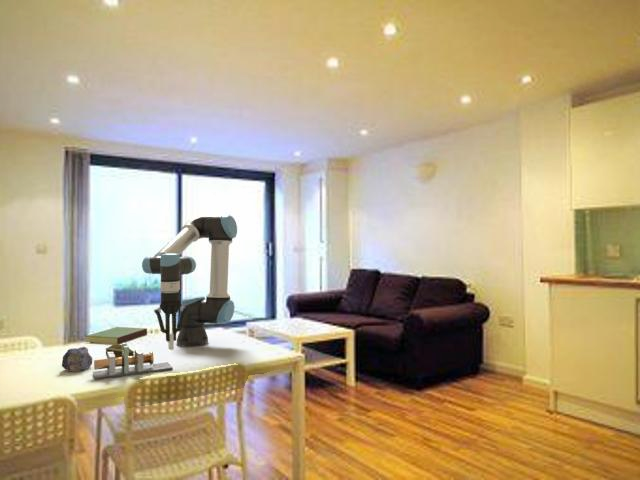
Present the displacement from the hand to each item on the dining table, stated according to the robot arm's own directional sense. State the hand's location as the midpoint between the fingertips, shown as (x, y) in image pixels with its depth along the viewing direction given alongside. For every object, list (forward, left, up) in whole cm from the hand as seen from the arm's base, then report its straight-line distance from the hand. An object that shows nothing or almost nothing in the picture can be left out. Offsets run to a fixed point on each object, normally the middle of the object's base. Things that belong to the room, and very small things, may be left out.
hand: (171, 348), depth 187 cm
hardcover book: (-70, -13, -8) cm, 72 cm away
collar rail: (+1, -15, -7) cm, 16 cm away
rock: (-14, -34, -8) cm, 37 cm away
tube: (+1, -18, -5) cm, 19 cm away
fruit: (-22, -17, -8) cm, 29 cm away
